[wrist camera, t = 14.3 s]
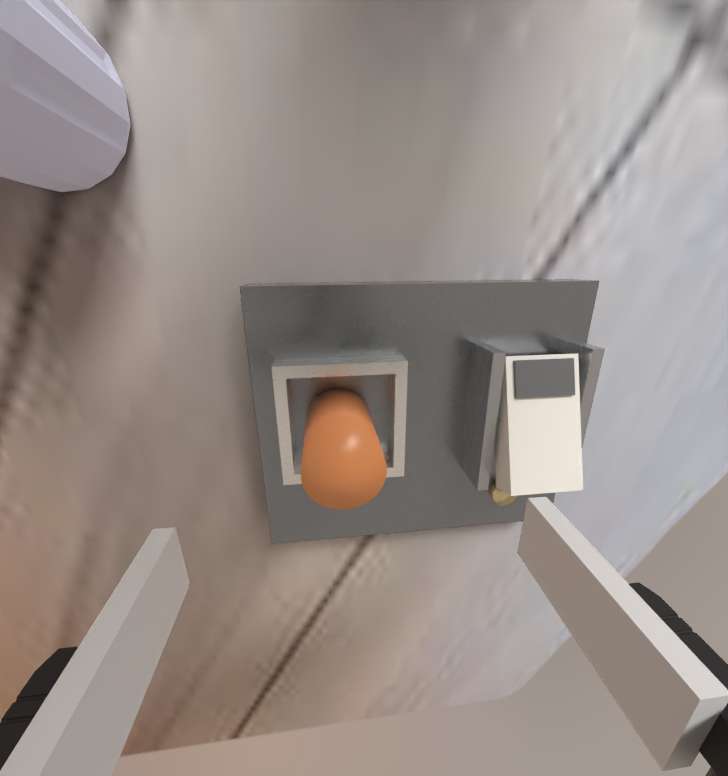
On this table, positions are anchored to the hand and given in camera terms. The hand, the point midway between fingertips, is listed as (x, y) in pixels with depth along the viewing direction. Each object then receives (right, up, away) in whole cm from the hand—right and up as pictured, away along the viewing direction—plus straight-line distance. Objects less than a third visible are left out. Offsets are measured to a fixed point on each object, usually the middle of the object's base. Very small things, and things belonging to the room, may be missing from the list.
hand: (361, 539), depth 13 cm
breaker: (+12, +3, +10) cm, 16 cm away
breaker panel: (+4, +4, +16) cm, 17 cm away
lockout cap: (-2, +3, +12) cm, 13 cm away
